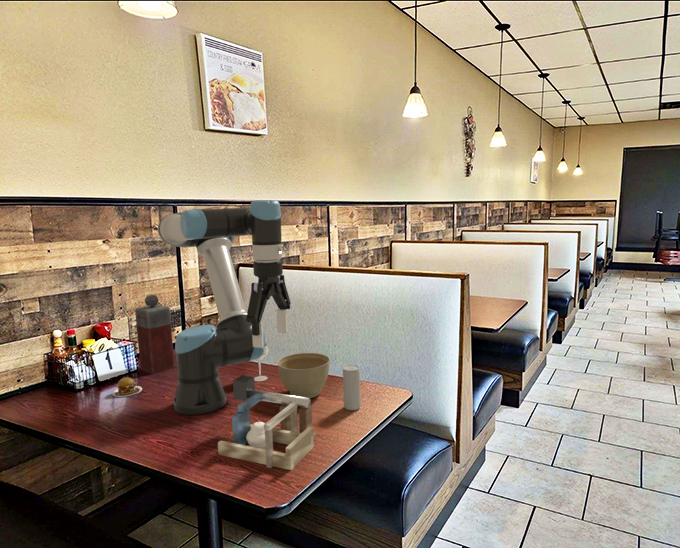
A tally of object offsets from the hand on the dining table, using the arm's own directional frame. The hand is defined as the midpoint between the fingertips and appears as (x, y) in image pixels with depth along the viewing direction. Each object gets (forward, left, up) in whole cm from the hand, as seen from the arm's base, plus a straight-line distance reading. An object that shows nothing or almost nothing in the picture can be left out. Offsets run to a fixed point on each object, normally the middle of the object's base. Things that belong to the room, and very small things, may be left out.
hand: (271, 339), depth 129 cm
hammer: (+3, -10, -23) cm, 25 cm away
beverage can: (+16, +16, -23) cm, 33 cm away
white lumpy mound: (+4, -14, -23) cm, 28 cm away
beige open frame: (+6, -14, -23) cm, 28 cm away
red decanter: (-67, +25, -23) cm, 75 cm away
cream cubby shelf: (+9, -5, -23) cm, 26 cm away
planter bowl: (-2, +21, -24) cm, 31 cm away
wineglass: (-23, +28, -23) cm, 43 cm away
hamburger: (-58, +3, -24) cm, 62 cm away
